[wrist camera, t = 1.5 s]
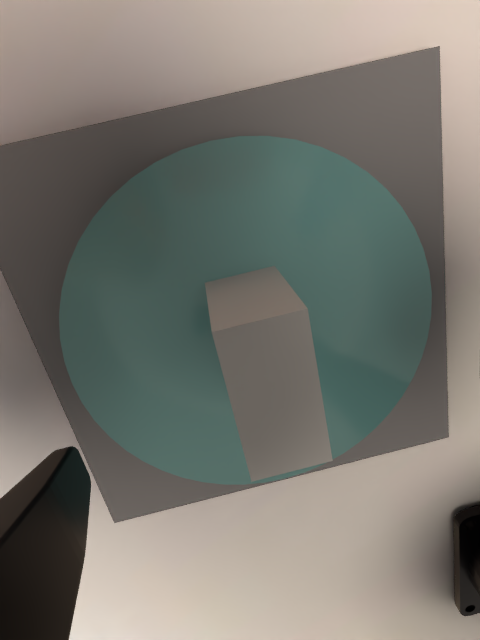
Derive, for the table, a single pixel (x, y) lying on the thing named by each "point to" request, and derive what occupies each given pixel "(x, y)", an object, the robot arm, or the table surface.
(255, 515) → the table surface
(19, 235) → the mat
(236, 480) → the lid
